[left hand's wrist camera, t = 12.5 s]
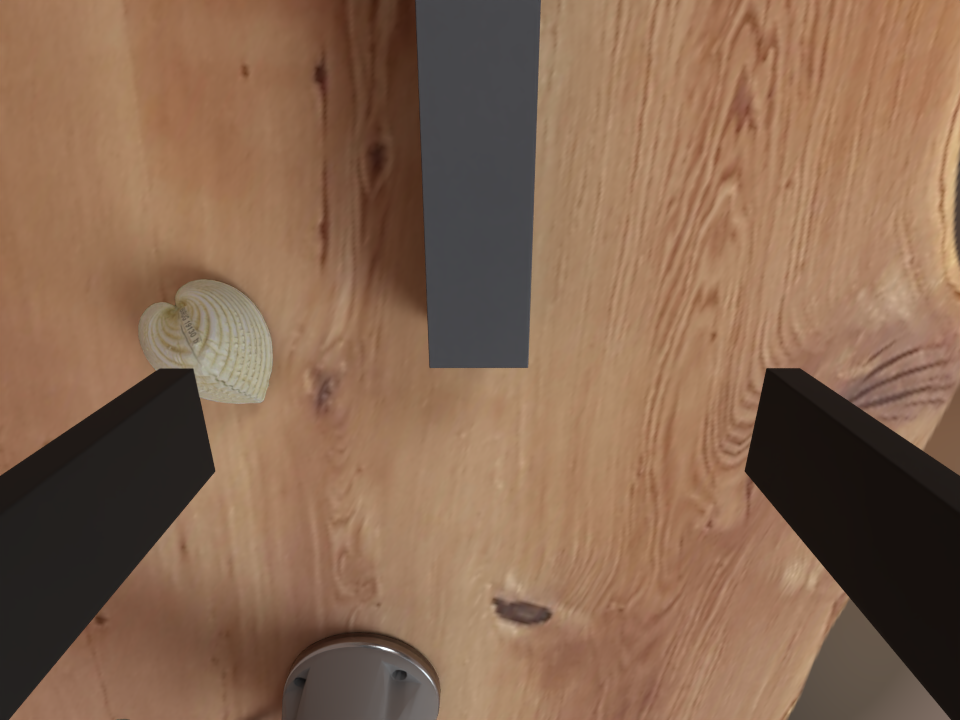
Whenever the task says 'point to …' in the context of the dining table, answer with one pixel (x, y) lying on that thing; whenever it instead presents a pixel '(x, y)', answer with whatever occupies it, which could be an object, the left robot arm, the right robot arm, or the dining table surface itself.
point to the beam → (478, 176)
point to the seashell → (211, 341)
